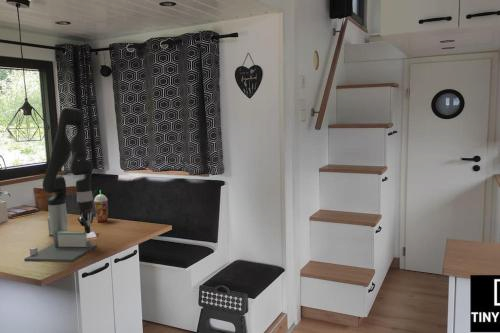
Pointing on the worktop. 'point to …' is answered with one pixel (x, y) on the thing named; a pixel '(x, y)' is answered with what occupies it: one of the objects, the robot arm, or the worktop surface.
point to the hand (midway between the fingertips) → (87, 233)
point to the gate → (72, 239)
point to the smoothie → (101, 207)
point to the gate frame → (59, 252)
